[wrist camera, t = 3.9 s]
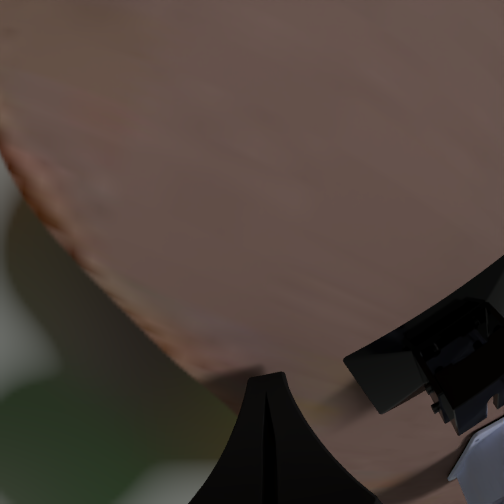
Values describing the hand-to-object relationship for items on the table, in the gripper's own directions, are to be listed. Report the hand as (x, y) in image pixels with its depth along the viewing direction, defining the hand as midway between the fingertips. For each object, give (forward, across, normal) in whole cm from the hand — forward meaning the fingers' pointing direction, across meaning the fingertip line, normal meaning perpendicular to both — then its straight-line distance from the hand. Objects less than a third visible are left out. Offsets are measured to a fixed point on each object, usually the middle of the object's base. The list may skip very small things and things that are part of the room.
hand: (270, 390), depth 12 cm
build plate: (+2, -8, +1) cm, 9 cm away
